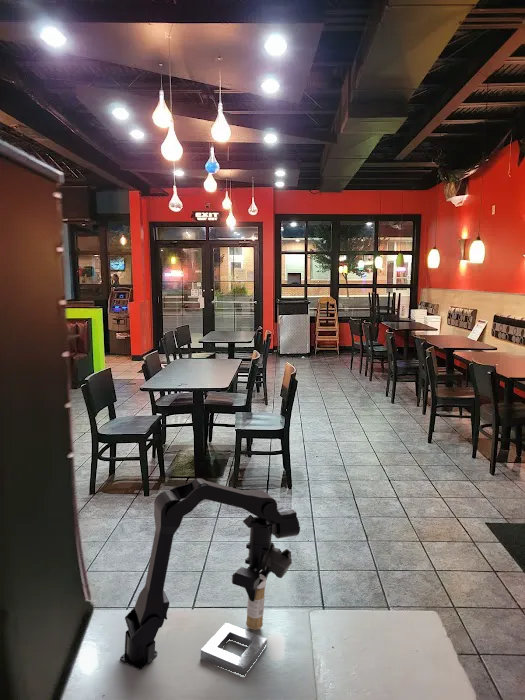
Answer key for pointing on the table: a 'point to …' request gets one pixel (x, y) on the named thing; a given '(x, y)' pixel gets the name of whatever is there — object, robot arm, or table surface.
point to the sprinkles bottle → (256, 607)
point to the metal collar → (228, 660)
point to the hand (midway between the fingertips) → (256, 596)
